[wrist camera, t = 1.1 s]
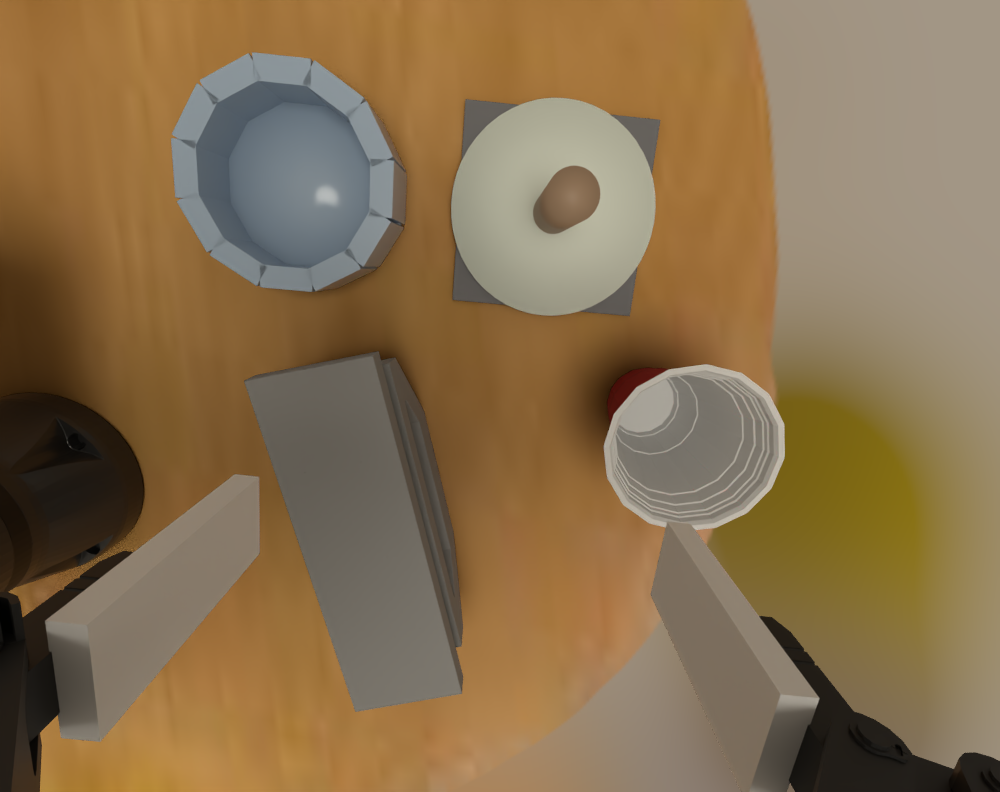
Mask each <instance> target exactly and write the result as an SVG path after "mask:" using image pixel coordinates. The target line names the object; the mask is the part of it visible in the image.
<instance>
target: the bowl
mask: <svg viewBox="0 0 1000 792" xmlns="http://www.w3.org/2000/svg"><path fill="white" fill-rule="evenodd" d="M252 55H253V57H252V56H251V55H250V54H249V53H248V54H246V55H244V56H243V57H241V58H239V59H237V60H235V61H233V62H232V63H230V64H228V65H226V66H224V67H223V68H221V69H219V70H217V71H215V72H214V73H212V74H210V75H208V76H206V77H205V78H203V79H201V80H200V82H201V84H202V85H203V87H202V86H201V85H199V84H198V83H197V84H196V86H195V88H194V90H193V92H192V94H191V96H190V98H189V100H188V102H187V104H186V106H185V108H184V110H183V112H182V114H181V117H180V119H179V121H178V123H177V125H176V127H175V129H174V131H173V133H172V135H174V136H175V137H177V138H178V139H174V138H171V144H172V157H173V171H174V185H175V197H176V198H181V199H180V200H178V201H177V203H178V204H179V206H180V208H181V209H182V211H183V213H184V214H185V216H186V218H187V219H188V221H189V223H190V224H191V226H192V228H193V230H194V231H195V233H196V235H197V236H198V238H199V240H200V241H201V243H202V245H203V246H204V248H205V250H206V251H207V252H211V254H210V256H212V257H213V258H215V259H216V260H218V261H220V262H221V263H223V264H224V265H226V266H227V267H229V268H230V269H232V270H233V271H235V272H236V273H238V274H239V275H241V276H242V277H244V278H245V279H247V280H248V281H250V282H251V283H253V284H255V285H256V286H260V287H264V288H275V289H286V290H297V291H308V292H315V291H322V290H329V289H336V288H339V287H341V286H343V285H345V284H348V283H350V282H352V281H354V280H356V279H358V278H360V277H362V276H364V275H366V274H368V273H370V272H372V271H374V270H376V269H377V267H380V266H381V264H382V262H383V261H384V259H385V258H386V256H387V254H388V253H389V251H390V250H391V248H392V246H393V245H394V243H395V242H396V240H397V238H398V237H399V235H400V234H401V232H402V230H403V229H404V227H402V224H404V225H405V212H406V187H407V174H406V173H405V172H406V170H405V168H404V166H403V163H402V161H401V159H400V157H399V155H398V153H397V151H396V149H395V147H394V144H393V142H392V140H391V138H390V136H389V134H388V132H387V130H386V128H385V125H384V123H383V122H382V121H381V119H380V118H379V117H378V115H377V114H376V113H375V112H374V110H373V109H372V108H371V106H370V105H369V104H368V102H367V101H366V100H365V98H364V97H362V96H361V95H360V94H358V93H357V92H356V91H354V90H353V89H352V88H350V87H349V86H348V85H346V84H345V83H344V82H343V81H341V80H340V79H339V78H337V77H336V76H335V75H333V74H332V73H331V72H329V71H328V70H327V69H325V68H324V67H323V66H321V65H320V64H319V63H317V62H316V61H315V60H314V62H313V61H312V60H311V59H308V58H299V57H290V56H281V55H272V54H262V53H253V52H252Z"/></svg>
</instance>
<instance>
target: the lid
mask: <svg viewBox="0 0 1000 792" xmlns="http://www.w3.org/2000/svg"><path fill="white" fill-rule="evenodd" d="M654 218H655V190H654V183H653V178H652V174H651V171H650V167H649V165H648V162H647V160H646V157H645V155H644V153H643V151H642V149H641V148H640V146H639V144H638V143H637V141H636V140H635V138H634V137H633V136H632V135H631V133H630V132H629V131H628V130H627V129H626V128H625V127H624V126H623V125H622V124H621V123H620V122H619V121H618V120H617V119H615V118H614V117H613V116H611V115H610V114H608V113H607V112H605V111H603V110H601V109H600V108H598V107H596V106H594V105H591V104H588V103H585V102H582V101H579V100H573V99H568V98H546V99H538V100H534V101H530V102H526V103H523V104H521V105H518V106H516V107H514V108H511V109H510V110H508V111H506V112H505V113H503V114H501V115H500V116H498V117H497V118H496V119H494V120H493V121H492V122H491V123H489V124H488V125H487V126H486V127H485V128H484V129H483V130H482V131H481V132H480V134H479V135H478V136H477V137H476V138H475V140H474V141H473V143H472V144H471V145H470V147H469V148H468V150H467V152H466V154H465V156H464V157H463V159H462V161H461V164H460V166H459V169H458V172H457V174H456V178H455V182H454V186H453V192H452V200H451V219H452V227H453V233H454V237H455V241H456V244H457V247H458V250H459V252H460V255H461V257H462V259H463V261H464V263H465V265H466V266H467V268H468V270H469V271H470V273H471V274H472V275H473V277H474V278H475V280H476V281H477V282H478V283H479V284H480V285H481V286H482V287H483V288H484V289H485V290H486V291H487V292H488V293H490V294H491V295H492V296H493V297H495V298H496V299H498V300H499V301H501V302H503V303H504V304H506V305H508V306H510V307H513V308H515V309H517V310H520V311H523V312H527V313H531V314H537V315H551V316H555V315H565V314H570V313H574V312H578V311H582V310H584V309H587V308H589V307H592V306H594V305H596V304H597V303H599V302H601V301H603V300H604V299H606V298H607V297H609V296H610V295H611V294H613V293H614V292H615V291H616V290H617V289H619V288H620V287H621V286H622V285H623V284H624V283H625V282H626V280H627V279H628V278H629V277H630V276H631V275H632V273H633V272H634V270H635V269H636V267H637V266H638V264H639V263H640V261H641V259H642V257H643V255H644V253H645V251H646V249H647V246H648V243H649V240H650V238H651V234H652V229H653V225H654Z"/></svg>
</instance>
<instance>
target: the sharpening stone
mask: <svg viewBox="0 0 1000 792" xmlns="http://www.w3.org/2000/svg"><path fill="white" fill-rule="evenodd" d="M244 382H245V385H246V388H247V391H248V394H249V397H250V400H251V403H252V406H253V409H254V412H255V415H256V418H257V421H258V424H259V427H260V430H261V433H262V436H263V439H264V442H265V445H266V448H267V451H268V453H269V456H270V459H271V462H272V465H273V468H274V471H275V474H276V477H277V480H278V483H279V486H280V489H281V492H282V495H283V498H284V501H285V504H286V507H287V510H288V513H289V516H290V519H291V522H292V525H293V528H294V531H295V534H296V537H297V540H298V543H299V545H300V548H301V551H302V554H303V557H304V560H305V563H306V566H307V569H308V572H309V575H310V578H311V581H312V584H313V587H314V590H315V593H316V596H317V599H318V602H319V605H320V608H321V611H322V614H323V617H324V620H325V623H326V626H327V629H328V632H329V635H330V637H331V640H332V643H333V646H334V649H335V652H336V655H337V658H338V661H339V664H340V667H341V670H342V673H343V676H344V679H345V682H346V685H347V688H348V691H349V694H350V697H351V700H352V703H353V706H354V709H355V712H357V711H363V710H369V709H375V708H381V707H386V706H392V705H398V704H404V703H410V702H416V701H422V700H428V699H434V698H439V697H445V696H451V695H457V694H462V684H463V674H462V670H461V666H460V663H459V659H458V655H457V651H456V647H460V646H461V645H462V633H463V622H462V612H461V602H460V592H459V582H458V572H457V563H456V553H455V543H454V533H453V528H452V524H451V520H450V516H449V512H448V507H447V503H446V499H445V495H444V491H443V487H442V483H441V479H440V475H439V470H438V466H437V462H436V458H435V454H434V450H433V446H432V442H431V438H430V434H429V429H428V425H427V421H426V417H425V413H424V410H423V408H422V406H421V405H420V403H419V401H418V399H417V397H416V395H415V393H414V391H413V390H412V388H411V386H410V384H409V382H408V380H407V378H406V377H405V375H404V373H403V371H402V369H401V367H400V365H399V364H398V362H397V360H396V358H390V359H385V360H381V359H380V355H379V351H377V352H372V353H367V354H362V355H357V356H352V357H347V358H341V359H336V360H331V361H326V362H321V363H316V364H311V365H306V366H301V367H295V368H290V369H285V370H280V371H275V372H270V373H265V374H260V375H255V376H253V377H251V378H249V379H247V380H245V381H244Z"/></svg>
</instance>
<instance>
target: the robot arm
mask: <svg viewBox="0 0 1000 792" xmlns="http://www.w3.org/2000/svg"><path fill="white" fill-rule="evenodd" d="M142 503H143V483H142V477H141V473H140V469H139V466H138V464H137V461H136V459H135V457H134V455H133V453H132V451H131V450H130V448H129V446H128V445H127V443H126V442H125V441H124V439H123V438H122V437H121V436H120V434H119V433H118V432H117V431H116V430H115V429H114V428H113V427H112V426H111V425H110V424H109V423H108V422H106V421H105V420H104V419H103V418H101V417H100V416H99V415H97V414H96V413H94V412H93V411H91V410H90V409H88V408H86V407H84V406H82V405H80V404H78V403H76V402H74V401H71V400H68V399H65V398H62V397H59V396H55V395H50V394H43V393H19V394H13V395H9V396H5V397H1V398H0V792H40V773H41V751H42V744H41V737H40V732H41V731H42V730H43V729H44V728H45V727H46V726H47V725H48V724H49V723H50V722H51V721H52V720H53V719H54V718H55V717H56V716H57V715H58V718H59V726H60V733H61V738H66V739H77V740H88V741H98V742H100V741H101V740H102V739H103V738H104V737H105V736H106V734H107V733H108V732H109V731H110V730H111V728H112V727H113V726H114V725H115V724H116V723H117V721H118V720H119V719H120V718H121V717H122V716H123V714H124V713H125V712H126V711H127V710H128V708H129V707H130V706H131V705H132V704H133V703H134V701H135V700H136V699H137V698H138V697H139V695H140V694H141V693H142V692H143V691H144V690H145V688H146V687H147V686H148V685H149V684H150V682H151V681H152V680H153V679H154V678H155V677H156V675H157V674H158V673H159V672H160V671H161V669H162V668H163V667H164V666H165V665H166V664H167V662H168V661H169V660H170V659H171V658H172V656H173V655H174V654H175V653H176V652H177V651H178V649H179V648H180V647H181V646H182V645H183V643H184V642H185V641H186V640H187V639H188V638H189V636H190V635H191V634H192V633H193V632H194V630H195V629H196V628H197V627H198V626H199V625H200V623H201V622H202V621H203V620H204V619H205V618H206V616H207V615H208V614H209V613H210V612H211V610H212V609H213V608H214V607H215V606H216V605H217V603H218V602H219V601H220V600H221V599H222V597H223V596H224V595H225V594H226V593H227V592H228V590H229V589H230V588H231V587H232V586H233V584H234V583H235V582H236V581H237V580H238V579H239V577H240V576H241V575H242V574H243V573H244V571H245V570H246V569H247V568H248V567H249V566H250V564H251V563H252V562H253V561H254V560H255V558H256V557H257V556H258V555H259V554H260V519H259V477H256V476H247V475H238V474H234V475H233V476H232V477H231V478H229V479H228V480H227V481H225V482H224V483H223V484H221V485H220V486H219V487H218V488H216V489H215V490H214V491H212V492H211V493H210V494H208V495H207V496H206V497H205V498H203V499H202V500H201V501H199V502H198V503H197V504H196V505H194V506H193V507H192V508H190V509H189V510H188V511H186V512H185V513H184V514H183V515H181V516H180V517H179V518H177V519H176V520H175V521H174V522H172V523H171V524H170V525H168V526H167V527H166V528H164V529H163V530H162V531H161V532H159V533H158V534H157V535H155V536H154V537H153V538H152V539H150V540H149V541H148V542H146V543H145V544H144V545H142V546H141V547H140V548H139V549H137V550H136V551H135V552H128V551H122V552H120V553H118V554H116V555H114V556H111V557H109V558H107V559H105V560H102V561H100V562H98V563H97V564H96V565H94V566H93V567H92V568H90V569H89V570H87V571H86V572H85V573H83V574H82V575H81V576H80V578H79V579H77V578H76V579H75V580H74V581H72V582H71V583H70V584H68V585H67V586H65V588H64V590H60V591H59V592H57V593H56V594H55V595H53V596H52V597H50V598H49V599H48V600H46V601H45V602H44V603H42V604H41V605H39V606H38V607H37V608H35V609H34V610H33V611H31V612H30V613H28V614H27V615H26V616H24V617H23V618H22V611H21V605H20V601H19V599H18V596H16V595H14V594H11V593H9V591H10V590H12V589H13V588H15V587H18V586H21V585H24V584H27V583H30V582H33V581H36V580H39V579H42V578H45V577H48V576H51V575H54V574H57V573H60V572H63V571H66V570H69V569H72V568H75V567H78V566H81V565H83V564H85V563H88V562H90V561H92V560H94V559H95V558H97V557H99V556H100V555H102V554H103V553H105V552H106V551H107V550H109V549H110V548H111V547H113V546H114V545H115V544H117V543H118V542H119V541H121V540H122V539H123V538H124V537H125V536H126V535H127V534H128V533H129V532H130V531H131V529H132V528H133V526H134V525H135V523H136V521H137V519H138V517H139V514H140V511H141V508H142ZM651 596H652V599H653V601H654V603H655V605H656V607H657V610H658V612H659V614H660V616H661V618H662V620H663V623H664V625H665V627H666V629H667V631H668V634H669V636H670V638H671V640H672V642H673V644H674V647H675V649H676V651H677V653H678V655H679V657H680V660H681V662H682V664H683V666H684V668H685V670H686V673H687V675H688V677H689V679H690V682H691V684H692V686H693V688H694V690H695V693H696V695H697V697H698V699H699V701H700V703H701V706H702V708H703V710H704V712H705V714H706V717H707V718H708V721H709V723H710V725H711V727H712V730H713V732H714V734H715V736H716V738H717V740H718V743H719V745H720V747H721V749H722V751H723V754H724V756H725V758H726V760H727V762H728V764H729V767H730V769H731V771H732V773H733V775H734V777H735V780H736V782H737V784H738V786H739V788H740V791H741V792H787V789H788V787H789V784H790V783H791V785H792V787H793V789H794V790H795V792H1000V761H998V760H996V759H994V758H992V757H989V756H986V755H982V754H978V753H964V754H963V755H962V756H961V757H960V758H959V760H958V762H957V764H956V766H955V768H954V769H952V768H949V767H946V766H943V765H940V764H937V763H935V762H932V761H929V760H926V759H923V758H920V757H917V756H915V755H912V753H911V752H910V750H909V749H908V748H907V746H906V745H905V744H904V742H903V741H902V740H901V739H900V738H899V737H898V736H896V735H895V734H894V733H893V732H892V731H891V730H890V729H888V728H887V727H885V726H884V725H882V724H880V723H879V722H877V721H876V720H874V719H872V718H870V717H867V716H865V715H863V714H860V713H856V712H854V711H853V710H852V709H851V707H850V706H849V705H848V704H847V702H846V701H845V700H844V699H843V698H842V696H841V695H840V694H839V692H838V691H837V690H836V689H835V687H834V686H833V685H832V683H831V682H830V681H829V680H828V678H827V677H826V676H825V675H824V673H823V672H822V671H821V670H820V668H819V667H818V666H816V665H815V664H814V661H813V660H812V658H811V657H810V656H809V655H808V653H807V652H804V648H803V647H802V646H801V645H800V643H799V642H798V641H797V639H796V638H795V637H794V636H793V635H792V633H791V632H790V631H789V630H787V629H786V628H785V627H783V626H782V625H781V624H780V623H778V622H777V621H776V620H775V619H773V618H772V617H764V616H758V614H757V613H756V612H755V610H754V609H753V608H752V606H751V605H750V604H749V602H748V601H747V600H746V598H745V597H744V596H743V594H742V593H741V592H740V590H739V589H738V588H737V586H736V585H735V583H734V582H733V581H732V579H731V578H730V577H729V575H728V574H727V573H726V571H725V570H724V569H723V567H722V566H721V565H720V563H719V562H718V560H717V559H716V558H715V556H714V555H713V554H712V552H711V551H710V550H709V548H708V547H707V546H706V544H705V543H704V542H703V540H702V539H701V537H700V536H699V535H698V533H697V532H696V531H695V529H694V528H693V527H692V525H691V524H686V523H677V522H668V521H667V525H666V529H665V534H664V538H663V542H662V547H661V551H660V556H659V560H658V564H657V569H656V573H655V578H654V582H653V586H652V591H651Z"/></svg>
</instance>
